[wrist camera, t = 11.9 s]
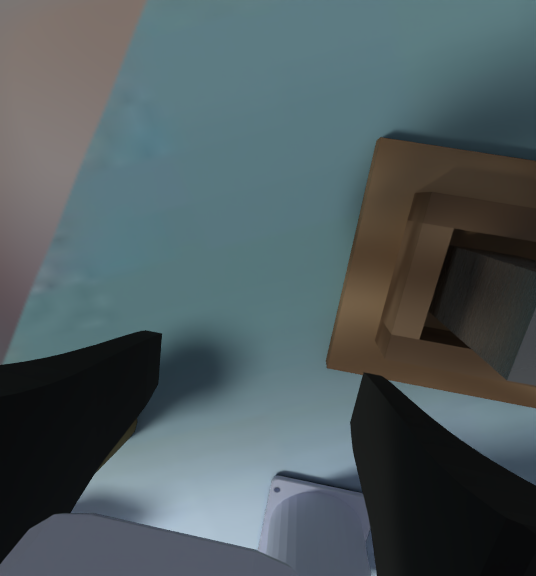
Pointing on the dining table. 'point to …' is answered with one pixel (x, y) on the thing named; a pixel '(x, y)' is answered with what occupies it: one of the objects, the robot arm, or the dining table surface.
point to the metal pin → (491, 308)
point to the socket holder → (428, 263)
